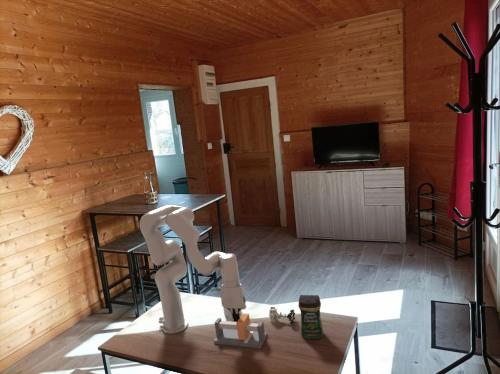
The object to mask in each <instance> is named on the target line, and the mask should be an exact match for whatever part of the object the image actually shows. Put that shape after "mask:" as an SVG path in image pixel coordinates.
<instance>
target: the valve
mask: <svg viewBox="0 0 500 374" xmlns="http://www.w3.org/2000/svg"><path fill="white" fill-rule="evenodd" d="M268 309H269V313H268V316H269V319H270V323H274V324H275V323H277V322H278V321H279V319H280V320H281V319H282V318H284V319H286V318H287V319H288V321H289V324H290V325H293V324H294V323H295V320H296V317H295V316H296V312H295V309H290V310H289V313H288V314H287V313H282V312H281V311H277V306H270V307H269V308H268Z"/></svg>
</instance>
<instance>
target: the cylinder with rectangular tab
mask: <svg viewBox="0 0 500 374" xmlns="http://www.w3.org/2000/svg"><path fill="white" fill-rule="evenodd" d="M222 309H223V315H224V316H225V317H226V318H232V313H231V312H230V311H229V310H228V309H226V308H224V307H223V306H222ZM239 314H240V315H242V310H240V311H239Z"/></svg>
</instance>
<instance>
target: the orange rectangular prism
mask: <svg viewBox="0 0 500 374" xmlns="http://www.w3.org/2000/svg"><path fill="white" fill-rule="evenodd" d="M247 323H251V318H250V313H244V312H243V313H241V314H240V318H239V320H238V321H237V323H236V324H237V331H238V338H239V340H245V339H246V338H247V336H248V334H249V333H250V331H246V326H245V325H246V324H247Z"/></svg>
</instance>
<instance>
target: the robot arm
mask: <svg viewBox="0 0 500 374" xmlns="http://www.w3.org/2000/svg"><path fill="white" fill-rule="evenodd" d="M194 213H195V212H193V210H192V209H191V208H189V207H186V206H180V205H179V206H178V205H164V206H161V207H158V208H156V209H152V210H150V211H148V212H146V213H144V215H142V216H141V218H140V219H139V229H140V232H141V234H142V236H143V238H144V240H145V243H146V246H147V248H148V252H149V255H150V258H151V261H152V262H153V264H154V265H155V266H162V267H161V268H159V269H158V270H157V271H156V273H155V274H154V281H155V284H156V286H157V289H158V293H159V298H160V303H161V309H162V314H163V316H160V317H159V318H158V324H162V332H163V333H165V334H168V335H170V334H171V335H173V334H177V333H180V332H182V331H184V330H185V329H186V328H187V327H188V326H189V322H188V320H187V319H186V318H185V315H184V310H183V304H182V297H181V292H180V289H179V288H178V287H177V285H176V283H177V282H179V280H181V279H183V278H184V277H185V276H186V274H187V273H188V267H187V263H186V260H185V256H184V254H183V250H182V248H181V245H180V244H179V243H178V242H177V241H176V240H174V239H168V240H165V237H164V235H163V233H162V232H161V230H160V229H158V228H160V227H162V226H165V225H167V227H169V229H170V230H171V231H172V232H173V233H174V235H176V237H177V238H178V239H179V240H180V241H181V242H182V243H183V244H184V246H185V249H186V250H185V251H186V255H187V258H188V261H189V263H190V264H191V265H192V267H194V269H196V271H197V272H199V273H200V274H201V275H202V276H207V277H208V276H210V275H212V274H213V273H215V272H216V271H218V270H220V274H221V278H220V279H219V282H220V283H222V284H221V285H220V286H221V287H220V298H221V299H220V301H221V306H222V308H223V307H224V308H226V309H228V310H229V311H230V312H231V313H232V317H231V319H232V320H233V321H232V322H237V321H238V320H239V318H240V317H241V314H239V311H240V310H241V311H242V310H246V309H247V304H246V303H247V302H246V295H245V291H244V287H243V285H242V283H241V281H240V280H241V279H240V274H239V273H240V272H239V266H238V261H237V256H236V254H234V253H232V252H231V253H225V252H222V251H218V250H217V251H213V252H211V253H210V254H208V255H206V256H205V257H204V255H203V254H202V253H201V252H200V250H199V248H198V240H199V239H200V237H201V232H200V231H199V230H198V229H197V228H196V226H194V224H193V222H194V221H195V214H194ZM168 262H169V263H168ZM166 263H168V264H166ZM165 264H166V265H165ZM163 265H164V266H163Z"/></svg>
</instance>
